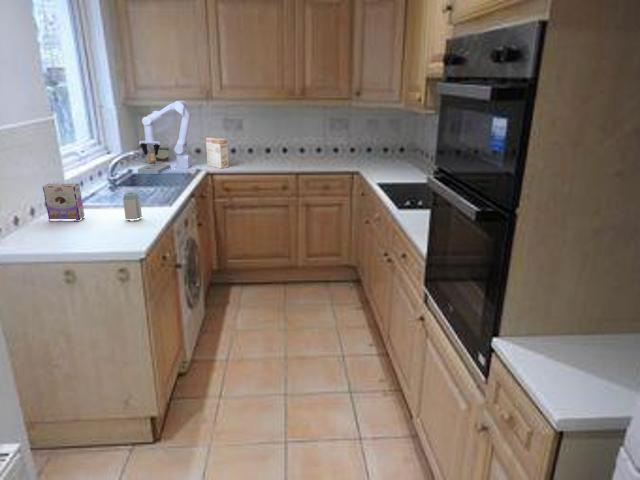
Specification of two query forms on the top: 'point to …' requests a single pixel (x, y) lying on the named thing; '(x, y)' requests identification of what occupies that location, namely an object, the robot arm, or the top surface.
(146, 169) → the board
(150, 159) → the peg
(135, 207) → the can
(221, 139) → the coffeecake box
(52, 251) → the top surface
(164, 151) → the food container
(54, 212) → the candy box
